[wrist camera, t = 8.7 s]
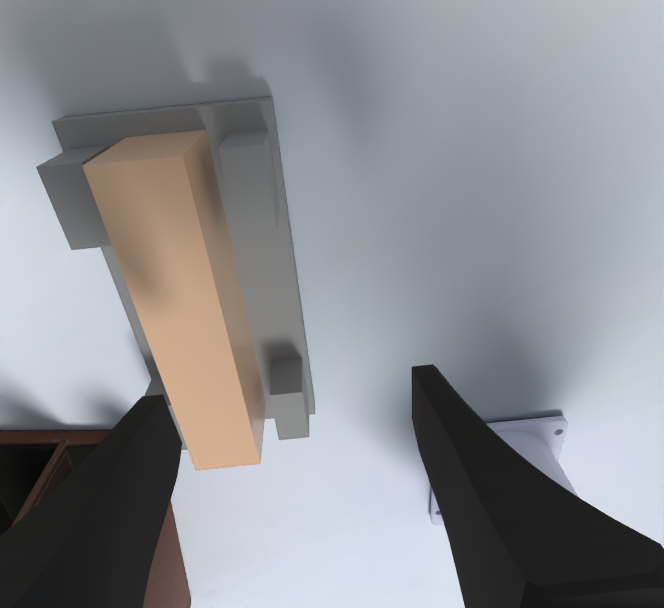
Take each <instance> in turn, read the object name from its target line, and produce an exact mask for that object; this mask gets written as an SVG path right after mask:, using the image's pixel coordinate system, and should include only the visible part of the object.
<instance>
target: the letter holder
mask: <svg viewBox="0 0 664 608" xmlns="http://www.w3.org/2000/svg"><path fill="white" fill-rule="evenodd" d="M110 432H111V430H83V431H82V430H77V431H70V430H61V431H59V430H53V431H48V430H40V431H23V430H21V431H0V535H2V534H3V533H4V532H6V531H7V530H8V529H9V528H11V527H12V526H13V525H14V524H16V523H17V522H18V521H19V520H21V519H22V518H23V517H24V516H25V515H26V514H28V513H29V512H30V511H31V510H32V509H33V508H34V507H36V506H37V505H38V504H39V503H40V502H41V501H42V500H44V499H45V498H46V497H47V496H48V495H49V494H50V493H51V492H52V491H53V490H54V489H55V488H57V487H58V486H59V485H60V484H61V483H62V482H63V481H64V480H65V479H66V478H67V477H68V476H69V475H70V474H71V473H72V472H73V471H74V470H75V469H76V468H77V467H78V466H79V465H80V464H81V463H82V462H83V461H84V460H85V458H86V457H87V456H88V455H89V454H90V453H91V452H92V451H93V450H94V449H95V448H96V447H97V446H98V445H99V444H100V442H101V441H102V440H103V439H104V438H105V437H106V436H107V435H108V434H109V433H110ZM190 606H191V597H190V593H189V588H188V581H187V578H186V573H185V569H184V563H183V559H182V554H181V550H180V544H179V539H178V534H177V530H176V525H175V520H174V515H173V511H172V506H171V501H170V503H169V506H168V510H167V513H166V516H165V520H164V523H163V526H162V530H161V533H160V536H159V540H158V543H157V546H156V550H155V553H154V557H153V561H152V565H151V569H150V573H149V578H148V583H147V588H146V593H145V598H144V603H143V608H190Z"/></svg>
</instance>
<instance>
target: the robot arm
mask: <svg viewBox="0 0 664 608" xmlns="http://www.w3.org/2000/svg"><path fill="white" fill-rule="evenodd" d="M412 421H413V425H414V430H415V435H416V439H417V443H418V448H419V452H420V455H421V458H422V461H423V463H424V466H425V469H426V472H427V475H428V478H429V481H430V484H431V487H432V497H431V514H430V518H431V522H432V523H433V524H435V525H443V524H444V525H445V528H446V532H447V535H448V538H449V542H450V546H451V550H452V554H453V558H454V563H455V567H456V571H457V575H458V579H459V583H460V588H461V592H462V596H463V601H464V605H465V608H664V548H663V547H662V546H661V544H659V543H657V542H656V541H654V540H652V539H650V538H648V537H646V536H644V535H643V534H641V533H639V532H637V531H635V530H633V529H631V528H630V527H628V526H626V525H624V524H622V523H620V522H618V521H617V520H615V519H613V518H611V517H610V516H608V515H606V514H605V513H603V512H601V511H600V510H598V509H596V508H595V507H593V506H591V505H590V504H588V503H587V502H585V501H583V500H582V499H580V498H579V497H578V495H577V494H576V492H575V490H574V488H573V487H572V485H571V483H570V482H569V480H568V478H567V477H566V475H565V473H564V471H563V470H562V468H561V466H560V465H559V463H558V459H559V455H560V452H561V448H562V444H563V441H564V437H565V434H566V430H567V426H568V422H567V421H566V419H565V418H564V417H562V416H555V417H545V418H535V419H526V420H516V421H506V422H496V423H485V422H484V421H483V420H482V419H481V418H480V417H479V416H478V415H477V414H476V413H475V412H474V411H473V410H472V409H471V407H470V406H469V405H468V404H467V403H466V402H465V401H464V400H463V399H462V398H461V397H460V395H459V394H458V393H457V392H456V391H455V390H454V389H453V387H452V386H451V385H450V384H449V383H448V381H447V380H446V379H445V378H444V376H443V375H442V374H441V373H440V371H439V370H438V369H437V367H435V366H434V365H424V366H415V367H412ZM181 449H182V441H181V438H180V436H179V433H178V431H177V428H176V426H175V423H174V421H173V418H172V416H171V413H170V410H169V408H168V405H167V403H166V400H165V398H164V395H163V394H160V395H151V396H142V397H141V398H140V399H139V400H138V401H137V402H136V404H135V405H134V406H133V407H132V408H131V409H130V410H129V411H128V412H127V414H126V415H125V416H124V417H123V418H122V419H121V420H120V421H119V423H118V424H117V425H116V426H115V427H114V428H113V429H112V430H111V432H110V433H109V434H108V435H107V436H106V437H105V438H104V439H103V440H102V441H101V442H100V444H99V445H98V446H97V447H96V448H95V449H94V450H93V451H92V452H91V453H90V454H89V455H88V456H87V457H86V458H85V460H84V461H83V462H82V463H81V464H80V465H79V466H78V467H77V468H76V469H75V470H74V471H73V472H72V473H71V474H70V475H69V476H68V477H67V478H66V479H65V480H64V481H63V482H62V483H61V484H60V485H59V486H58V487H57V488H55V489H54V490H53V491H52V492H51V493H50V494H49V495H48V496H47V497H46V498H45V499H44V500H42V501H41V502H40V503H39V504H38V505H37V506H36V507H34V508H33V509H32V510H31V511H30V512H29V513H28V514H26V515H25V516H24V517H23V518H22V519H21V520H19V521H18V522H17V523H16V524H14V525H13V526H12V527H11V528H9V529H8V530H7V531H6V532H4V533H3V534H2V535H0V608H143V603H144V598H145V593H146V588H147V583H148V578H149V573H150V569H151V565H152V561H153V557H154V553H155V550H156V546H157V543H158V540H159V536H160V533H161V530H162V526H163V523H164V520H165V516H166V513H167V510H168V506H169V503H170V500H171V496H172V493H173V489H174V486H175V482H176V479H177V474H178V468H179V463H180V456H181Z"/></svg>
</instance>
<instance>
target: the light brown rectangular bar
mask: <svg viewBox="0 0 664 608" xmlns="http://www.w3.org/2000/svg"><path fill="white" fill-rule="evenodd" d="M83 169H84V172H85V174H86V177H87V180H88V182H89V185H90V188H91V190H92V193H93V196H94V199H95V201H96V204H97V207H98V209H99V212H100V215H101V217H102V220H103V223H104V225H105V228H106V231H107V233H108V236H109V239H110V242H111V244H112V247H113V250H114V252H115V255H116V258H117V260H118V263H119V266H120V268H121V271H122V274H123V276H124V279H125V282H126V284H127V287H128V290H129V293H130V295H131V298H132V301H133V303H134V306H135V309H136V311H137V314H138V317H139V319H140V322H141V325H142V327H143V330H144V333H145V336H146V338H147V341H148V344H149V346H150V349H151V352H152V354H153V357H154V360H155V362H156V365H157V368H158V370H159V373H160V376H161V379H162V381H163V384H164V387H165V389H166V392H167V395H168V397H169V400H170V403H171V405H172V408H173V411H174V413H175V416H176V419H177V421H178V424H179V427H180V430H181V432H182V435H183V438H184V440H185V443H186V446H187V448H188V451H189V454H190V456H191V459H192V462H193V464H194V467H195V470H205V469H215V468H225V467H235V466H245V465H255V464H260V462H261V451H262V441H263V430H264V420H265V409H266V400H265V395H264V390H263V386H262V381H261V377H260V372H259V368H258V363H257V358H256V354H255V349H254V345H253V340H252V335H251V331H250V326H249V322H248V317H247V312H246V308H245V303H244V299H243V294H242V290H241V285H240V280H239V276H238V271H237V267H236V262H235V257H234V253H233V248H232V244H231V239H230V234H229V230H228V225H227V221H226V216H225V212H224V207H223V202H222V198H221V193H220V189H219V184H218V179H217V175H216V170H215V166H214V161H213V156H212V152H211V147H210V143H209V138H208V134H207V129H206V130H196V131H185V132H175V133H165V134H155V135H144V136H134V137H126V138H125V139H123V140H122V141H120V142H118V143H117V144H115V145H114V146H112V147H111V148H109V149H108V150H106V151H105V152H103V153H101V154H100V155H98V156H97V157H95V158H94V159H92V160H91V161H89V162H88V163H86V164H84V165H83Z"/></svg>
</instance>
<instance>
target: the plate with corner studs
mask: <svg viewBox="0 0 664 608" xmlns="http://www.w3.org/2000/svg"><path fill="white" fill-rule="evenodd" d="M52 123H53V126H54V129H55V131H56V134H57V136H58V139H59V141H60V144H61V147H62V149H63V153H61V154H59V155H58V156H56V157H54V158H52V159H50V160H48V161H46V162H45V163H43V164H41V165H39V166H37V167H36V168H37V170H38V173H39V175H40V177H41V180H42V182H43V184H44V187H45V189H46V191H47V194H48V196H49V198H50V201H51V203H52V205H53V208H54V210H55V212H56V215H57V217H58V219H59V222H60V224H61V226H62V229H63V231H64V233H65V236H66V238H67V240H68V243H69V245H70V248H71V250H76V249H86V248H96V247H101V250H102V252H103V255H104V257H105V260H106V263H107V265H108V268H109V270H110V273H111V275H112V278H113V281H114V283H115V286H116V288H117V291H118V294H119V296H120V299H121V301H122V304H123V306H124V309H125V312H126V314H127V317H128V319H129V322H130V324H131V327H132V330H133V332H134V335H135V337H136V340H137V343H138V345H139V348H140V350H141V353H142V355H143V358H144V361H145V363H146V366H147V368H148V371H149V373H150V376H151V382H150V384H149V387H148V389H147V391H146V394H145V396H151V395H160V394H163V395H164V398H165V400H166V403H167V405H168V408H169V410H170V413H171V416H172V418H173V421H174V423H175V426H176V428H177V431H178V433H179V436H180V438H181V441H182V449H181V450H187V449H188V448H187V446H186V443H185V440H184V438H183V435H182V432H181V430H180V427H179V424H178V421H177V419H176V416H175V413H174V411H173V408H172V405H171V403H170V400H169V397H168V395H167V392H166V389H165V387H164V384H163V381H162V379H161V376H160V373H159V370H158V368H157V365H156V362H155V360H154V357H153V354H152V352H151V349H150V346H149V344H148V341H147V338H146V336H145V333H144V330H143V327H142V325H141V322H140V319H139V317H138V314H137V311H136V309H135V306H134V303H133V301H132V298H131V295H130V293H129V290H128V287H127V284H126V282H125V279H124V276H123V274H122V271H121V268H120V266H119V263H118V260H117V258H116V255H115V252H114V250H113V247H112V244H111V242H110V239H109V236H108V233H107V231H106V228H105V225H104V223H103V220H102V217H101V215H100V212H99V209H98V207H97V204H96V201H95V199H94V196H93V193H92V190H91V188H90V185H89V182H88V180H87V177H86V174H85V172H84V169H83V165H84V164H86V163H88V162H89V161H91V160H92V159H94V158H95V157H97V156H98V155H100V154H101V153H103V152H105V151H106V150H108V149H109V148H111V147H112V146H114V145H115V144H117V143H118V142H120V141H122V140H123V139H125V138H126V137H134V136H144V135H155V134H165V133H175V132H185V131H196V130H206V129H207V134H208V138H209V143H210V147H211V152H212V156H213V161H214V166H215V170H216V175H217V179H218V184H219V189H220V193H221V198H222V202H223V207H224V212H225V216H226V221H227V225H228V230H229V234H230V239H231V244H232V248H233V253H234V257H235V262H236V267H237V271H238V276H239V280H240V285H241V290H242V294H243V299H244V303H245V308H246V312H247V317H248V322H249V326H250V331H251V335H252V340H253V345H254V349H255V354H256V358H257V363H258V368H259V372H260V377H261V381H262V386H263V390H264V395H265V400H266V409H265V419H270V418H275V423H276V428H277V433H278V437H279V440H285V439H295V438H305V437H309V414H315V400H314V393H313V385H312V378H311V371H310V364H309V357H308V350H307V342H306V335H305V328H304V321H303V314H302V306H301V299H300V292H299V285H298V278H297V271H296V263H295V256H294V249H293V242H292V235H291V227H290V220H289V213H288V206H287V199H286V192H285V184H284V177H283V170H282V163H281V156H280V149H279V141H278V134H277V127H276V120H275V113H274V105H273V98H272V97H263V98H252V99H242V100H232V101H222V102H211V103H201V104H191V105H180V106H170V107H160V108H150V109H139V110H129V111H119V112H108V113H98V114H88V115H78V116H67V117H62V118H60V119H57V120H55V121H52Z"/></svg>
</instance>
